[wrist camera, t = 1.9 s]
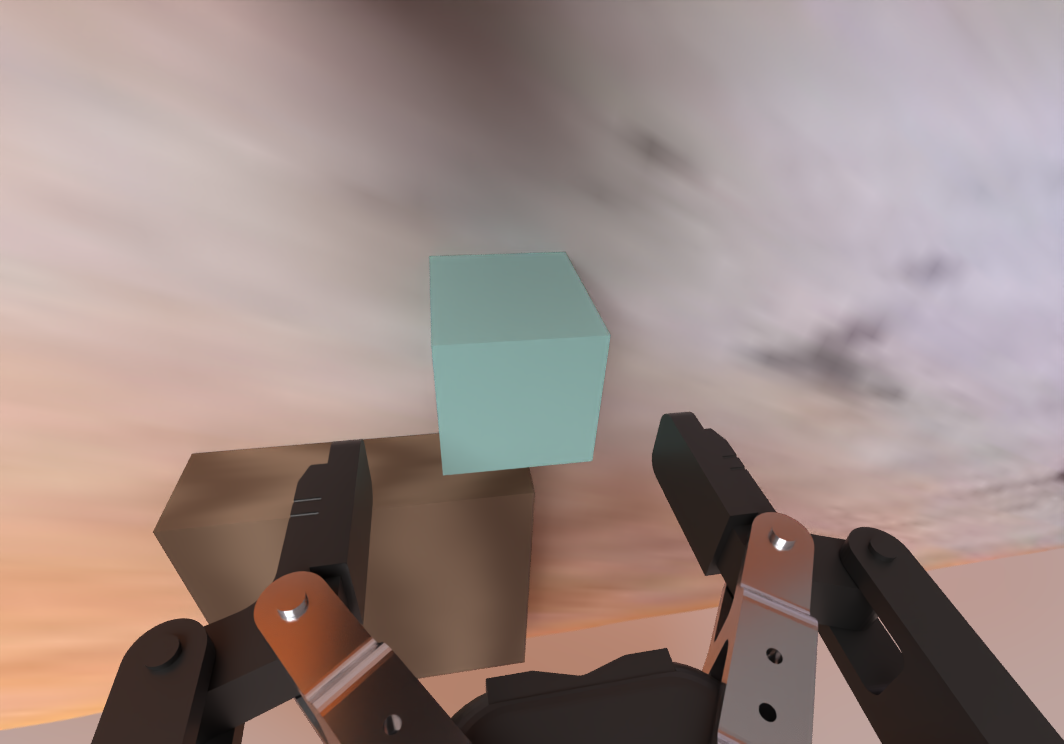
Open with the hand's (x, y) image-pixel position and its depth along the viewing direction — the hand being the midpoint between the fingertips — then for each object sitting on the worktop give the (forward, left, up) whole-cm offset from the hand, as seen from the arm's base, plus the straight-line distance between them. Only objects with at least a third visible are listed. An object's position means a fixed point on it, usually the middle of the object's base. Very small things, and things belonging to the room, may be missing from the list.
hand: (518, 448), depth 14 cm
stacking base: (+6, +13, -8) cm, 16 cm away
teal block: (0, 0, -8) cm, 8 cm away
